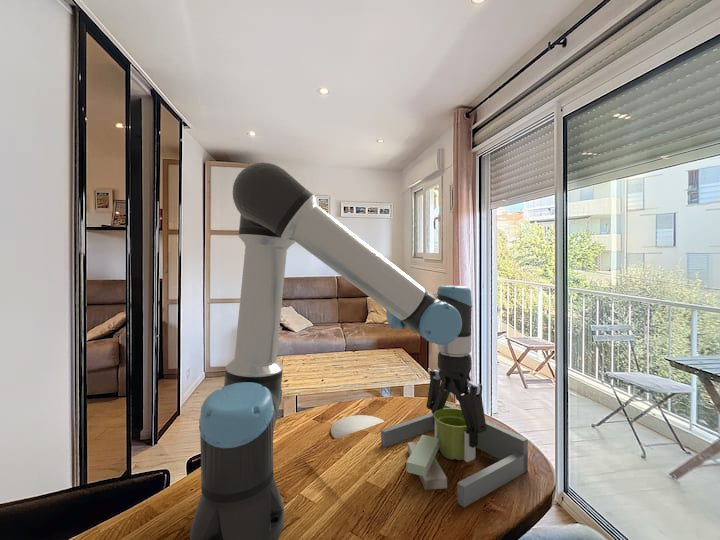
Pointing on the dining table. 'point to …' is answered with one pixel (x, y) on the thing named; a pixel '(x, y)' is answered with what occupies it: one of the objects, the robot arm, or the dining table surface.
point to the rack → (491, 441)
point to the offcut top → (422, 455)
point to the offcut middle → (431, 473)
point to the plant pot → (451, 432)
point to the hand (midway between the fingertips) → (454, 449)
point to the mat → (353, 424)
